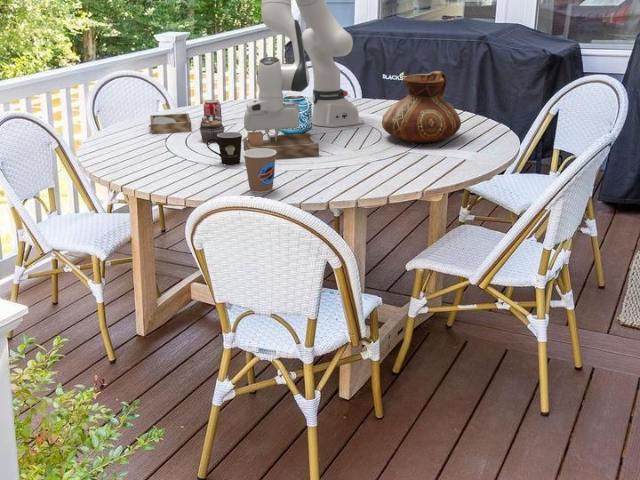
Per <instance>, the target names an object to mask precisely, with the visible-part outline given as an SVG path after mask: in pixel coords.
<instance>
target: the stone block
mask: <svg viewBox="0 0 640 480" xmlns="http://www.w3.org/2000/svg"><path fill="white" fill-rule="evenodd" d="M160 123H176V121H175V120H174V119H172V118H168V117H155V118H153V124H160Z"/></svg>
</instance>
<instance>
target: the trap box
mask: <svg viewBox="0 0 640 480" xmlns="http://www.w3.org/2000/svg"><path fill="white" fill-rule="evenodd" d="M274 135H275V134H273V135H272V136H274ZM310 135H311V134H310V132H309V133H291V134H278V136H277V141H271V142H269V141H268V139H263V145H258V146H250V144H249V142H248V137H243V142H242V143H243V144H242V145H243V150H244V151H247V150H250V149H257V148H266V149H272V150H275V151H276V152H277V153H276V154H275V155H276V156H275V160H280V159H294V158H295V159H296V158H307V157H308V158H309V157H312V158H313V157H319V156H320V152H319V151H320V144H319V143H318V142H316V143H315V142H314V141H313V140H312V138H311V136H310ZM244 151H243V152H244Z"/></svg>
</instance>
